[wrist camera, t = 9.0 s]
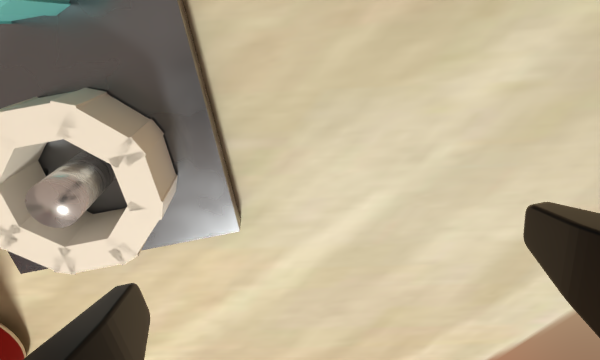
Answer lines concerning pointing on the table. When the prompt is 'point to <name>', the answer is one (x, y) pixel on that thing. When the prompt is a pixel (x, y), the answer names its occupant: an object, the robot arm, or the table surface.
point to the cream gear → (101, 143)
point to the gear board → (132, 92)
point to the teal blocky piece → (30, 9)
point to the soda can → (10, 345)
